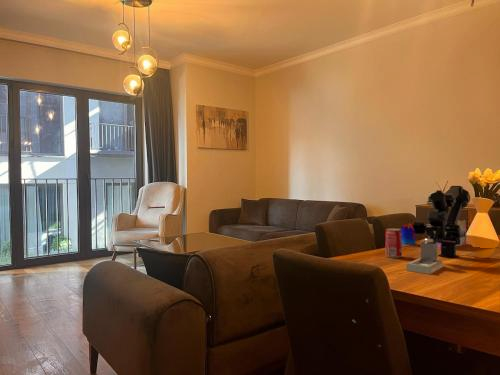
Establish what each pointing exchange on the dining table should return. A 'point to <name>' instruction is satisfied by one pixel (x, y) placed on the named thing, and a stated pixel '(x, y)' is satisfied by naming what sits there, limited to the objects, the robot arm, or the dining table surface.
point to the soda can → (393, 243)
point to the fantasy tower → (408, 236)
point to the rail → (424, 266)
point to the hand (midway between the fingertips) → (431, 244)
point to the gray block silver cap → (428, 251)
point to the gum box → (463, 235)
